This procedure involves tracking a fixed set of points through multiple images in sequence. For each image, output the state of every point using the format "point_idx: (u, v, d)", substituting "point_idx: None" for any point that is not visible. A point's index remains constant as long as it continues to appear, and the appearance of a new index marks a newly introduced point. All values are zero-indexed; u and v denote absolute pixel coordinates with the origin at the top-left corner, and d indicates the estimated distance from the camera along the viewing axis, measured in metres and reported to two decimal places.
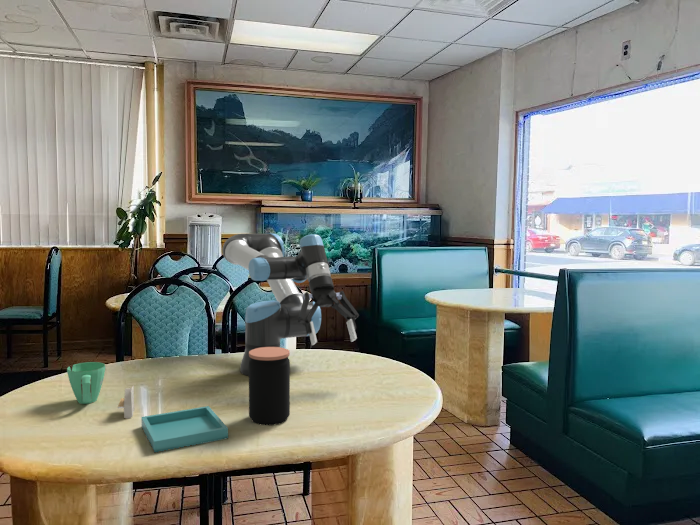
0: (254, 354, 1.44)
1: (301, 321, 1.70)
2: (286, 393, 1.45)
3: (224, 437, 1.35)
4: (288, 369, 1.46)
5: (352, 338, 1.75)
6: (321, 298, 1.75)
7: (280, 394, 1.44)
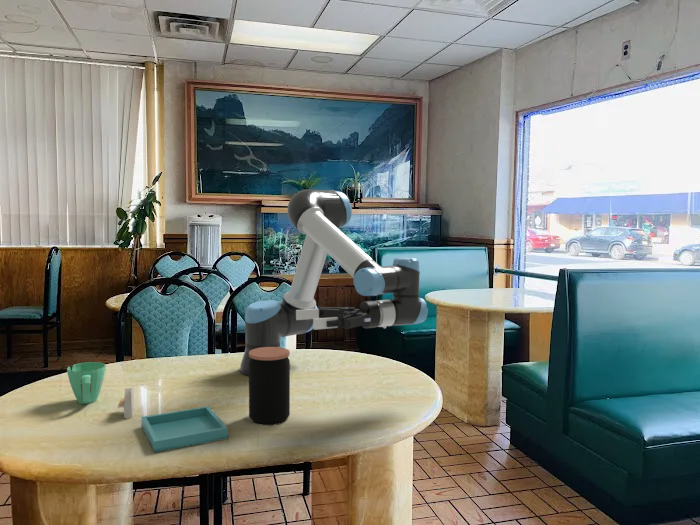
0: (254, 354, 1.44)
1: (343, 324, 1.44)
2: (286, 393, 1.45)
3: (224, 437, 1.35)
4: (288, 369, 1.46)
5: (298, 315, 1.56)
6: None
7: (280, 394, 1.44)
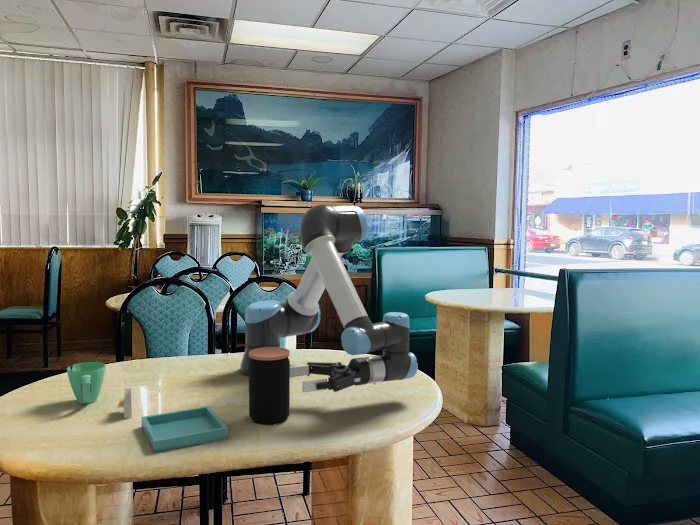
0: (254, 354, 1.44)
1: (333, 387, 1.44)
2: (286, 393, 1.45)
3: (224, 437, 1.35)
4: (288, 369, 1.46)
5: None
6: None
7: (280, 394, 1.44)
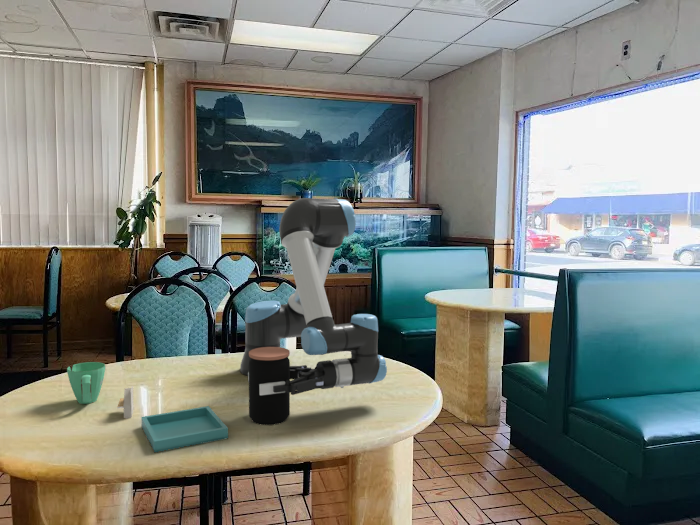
0: (254, 354, 1.44)
1: (290, 390, 1.41)
2: None
3: (224, 437, 1.35)
4: (288, 369, 1.46)
5: None
6: None
7: (280, 394, 1.44)
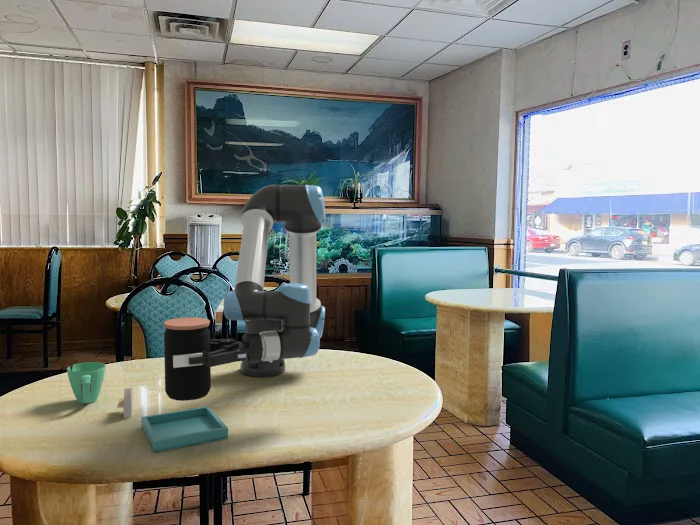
0: (169, 323, 1.32)
1: (207, 362, 1.30)
2: (205, 366, 1.34)
3: (224, 437, 1.35)
4: (207, 340, 1.35)
5: None
6: None
7: (198, 367, 1.32)
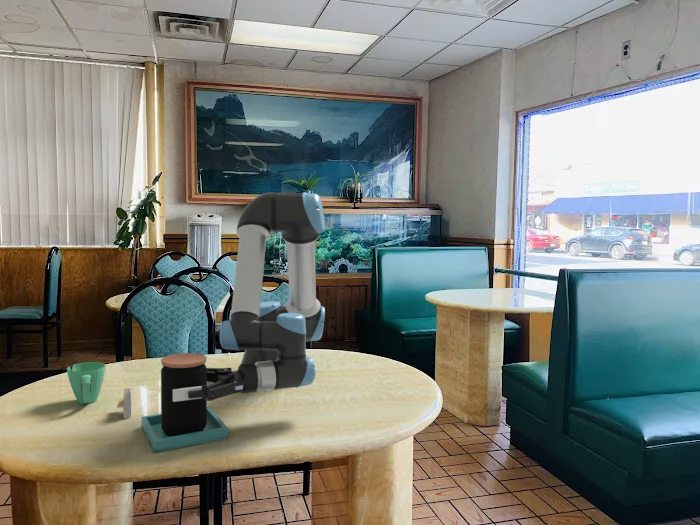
0: (166, 361, 1.34)
1: (206, 396, 1.30)
2: (200, 403, 1.35)
3: (224, 437, 1.35)
4: (203, 377, 1.36)
5: None
6: None
7: (193, 404, 1.34)
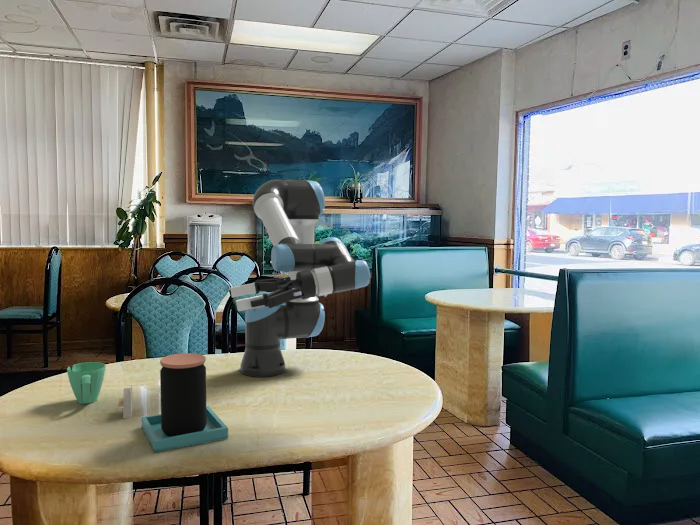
0: (165, 361, 1.34)
1: (267, 303, 1.38)
2: (200, 403, 1.35)
3: (224, 437, 1.35)
4: (203, 377, 1.36)
5: (233, 292, 1.51)
6: None
7: (193, 404, 1.34)
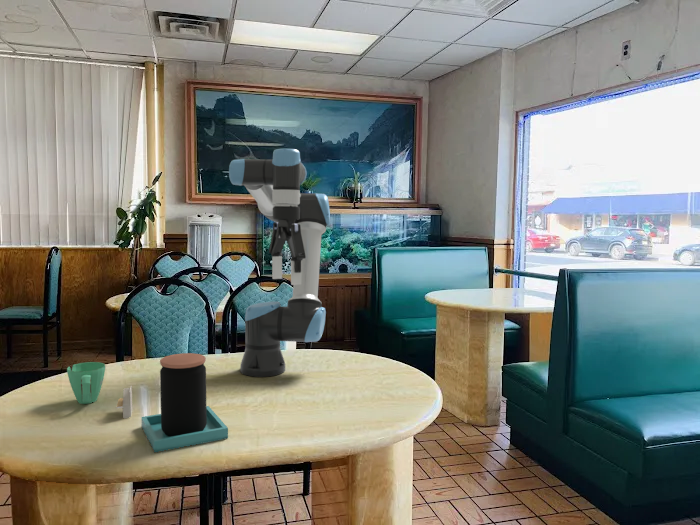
0: (165, 361, 1.34)
1: (301, 258, 1.49)
2: (200, 403, 1.35)
3: (224, 437, 1.35)
4: (203, 377, 1.36)
5: (277, 277, 1.64)
6: None
7: (193, 404, 1.34)
